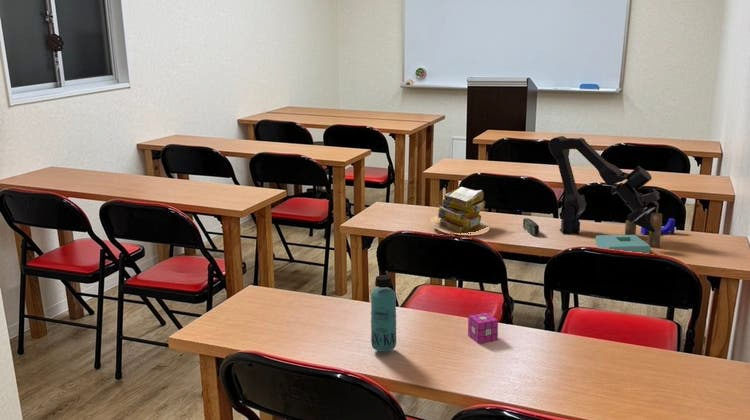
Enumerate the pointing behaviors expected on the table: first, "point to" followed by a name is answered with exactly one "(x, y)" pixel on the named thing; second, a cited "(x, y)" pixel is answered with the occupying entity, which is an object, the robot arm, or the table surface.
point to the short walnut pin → (630, 228)
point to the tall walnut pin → (655, 236)
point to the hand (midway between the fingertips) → (658, 228)
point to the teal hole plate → (622, 243)
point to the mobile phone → (531, 227)
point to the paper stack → (460, 212)
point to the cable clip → (665, 230)
